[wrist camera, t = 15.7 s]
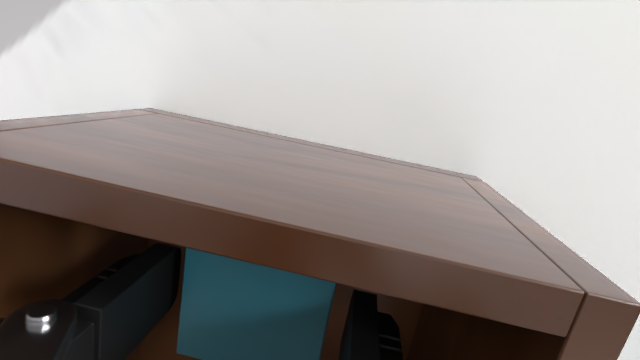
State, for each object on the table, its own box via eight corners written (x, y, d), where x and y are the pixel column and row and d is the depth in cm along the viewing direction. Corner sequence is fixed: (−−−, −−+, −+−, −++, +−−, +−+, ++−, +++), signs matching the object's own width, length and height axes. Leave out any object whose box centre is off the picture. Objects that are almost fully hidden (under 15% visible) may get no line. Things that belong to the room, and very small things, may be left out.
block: (349, 207, 14) (341, 258, 10) (328, 305, 16) (313, 388, 11) (239, 184, 15) (186, 223, 10) (227, 281, 16) (175, 353, 12)
